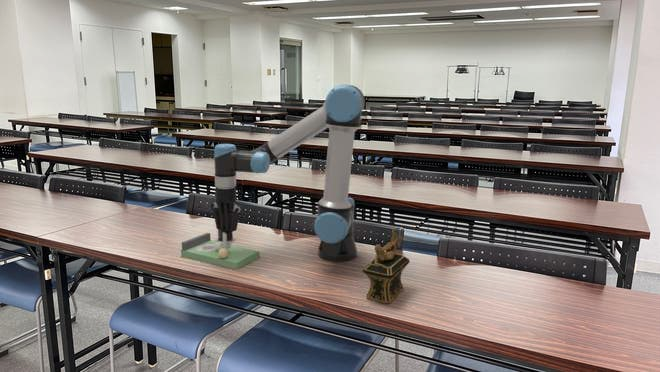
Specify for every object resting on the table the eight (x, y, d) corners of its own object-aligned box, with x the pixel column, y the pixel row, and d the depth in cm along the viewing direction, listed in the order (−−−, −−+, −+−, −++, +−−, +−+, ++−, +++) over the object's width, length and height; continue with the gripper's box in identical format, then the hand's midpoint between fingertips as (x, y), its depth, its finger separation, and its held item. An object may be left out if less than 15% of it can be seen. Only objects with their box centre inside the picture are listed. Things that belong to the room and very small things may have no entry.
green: (259, 257, 177) (259, 243, 176) (236, 269, 165) (235, 254, 163) (206, 245, 188) (206, 232, 187) (181, 256, 176) (180, 242, 175)
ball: (218, 247, 178) (225, 250, 177) (212, 249, 175) (219, 253, 174) (219, 238, 177) (227, 242, 176) (213, 241, 174) (221, 244, 173)
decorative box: (389, 308, 139) (393, 245, 135) (360, 300, 143) (363, 239, 139) (412, 284, 156) (416, 228, 152) (385, 278, 161) (388, 223, 156)
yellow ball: (230, 257, 169) (230, 247, 169) (223, 260, 166) (223, 250, 165) (222, 255, 171) (222, 246, 170) (216, 258, 168) (215, 249, 167)
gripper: (246, 187, 170) (247, 248, 175) (218, 182, 175) (219, 242, 180) (233, 191, 163) (234, 254, 168) (204, 186, 169) (206, 248, 174)
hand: (226, 248), depth 174 cm, fingers closed
